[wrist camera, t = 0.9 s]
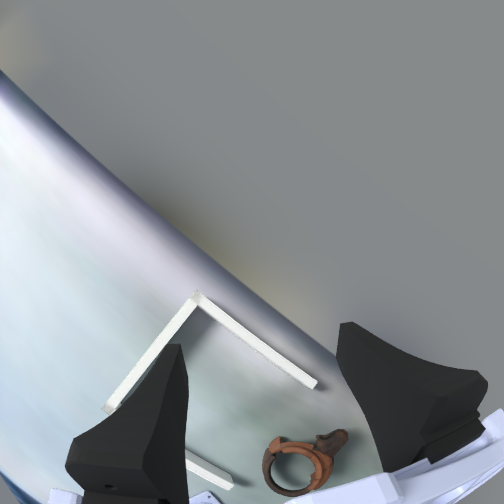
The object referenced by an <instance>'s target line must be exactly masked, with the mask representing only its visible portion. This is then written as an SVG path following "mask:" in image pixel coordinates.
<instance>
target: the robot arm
mask: <svg viewBox="0 0 504 504" xmlns="http://www.w3.org/2000/svg"><path fill="white" fill-rule="evenodd" d="M336 359H337V362H338V365H339V367H340V370H341V372H342V375H343V377H344V378H345V380H346V382H347V384H348V386H349V387H350V389H351V391H352V393H353V395H354V396H355V398H356V400H357V402H358V403H359V405H360V407H361V409H362V411H363V413H364V415H365V417H366V420H367V422H368V425H369V427H370V430H371V432H372V435H373V438H374V441H375V444H376V447H377V450H378V453H379V456H380V460H381V463H382V467H383V471H384V472H383V473H379V474H375V475H371V476H368V477H366V478H363V479H359V480H356V481H353V482H350V483H347V484H343V485H340V486H336V487H332V488H329V489H325V490H321V491H317V492H313V493H309V494H305V495H302V496H299V497H295V498H293V499H291V500H289V501H287V502H285V503H284V504H455V503H456V502H458V501H459V500H461V499H462V498H464V497H465V496H467V495H468V494H470V493H471V492H472V491H474V490H475V489H476V488H478V487H479V486H481V485H482V484H483V483H485V482H486V481H488V480H489V479H490V478H491V477H493V476H494V475H495V474H497V473H498V472H499V471H501V469H502V468H503V467H504V411H503V410H502V409H498V410H497V411H495V412H494V413H492V414H491V415H489V416H488V417H486V418H485V419H484V420H483V421H482V422H480V421H479V419H478V417H479V416H480V413H479V412H478V411H477V408H478V406H479V405H480V403H481V401H482V400H483V398H484V396H485V394H486V392H487V389H488V382H487V381H486V380H485V379H484V377H483V376H482V375H480V373H479V372H478V371H475V370H464V369H457V368H452V367H447V366H442V365H438V364H435V363H431V362H428V361H426V360H423V359H420V358H417V357H415V356H413V355H410V354H408V353H406V352H404V351H402V350H400V349H398V348H396V347H394V346H392V345H390V344H388V343H387V342H385V341H383V340H382V339H380V338H378V337H377V336H375V335H373V334H372V333H370V332H369V331H367V330H366V329H364V328H362V327H361V326H359V325H357V324H356V323H354V322H348V323H341V324H340V330H339V338H338V346H337V353H336ZM188 399H189V387H188V374H187V370H186V366H185V362H184V358H183V354H182V349H181V345H180V344H167V345H166V346H165V347H164V349H163V351H162V352H161V354H160V356H159V357H158V359H157V361H156V362H155V364H154V365H153V367H152V368H151V370H150V371H149V373H148V374H147V376H146V377H145V379H144V380H143V381H142V382H141V384H140V385H139V386H138V388H137V389H136V390H135V391H134V393H133V394H132V395H131V396H130V397H129V398H128V399H127V400H126V401H125V402H124V403H123V404H122V405H121V406H120V407H119V408H118V409H117V410H116V411H115V412H113V413H112V414H111V415H110V416H109V417H107V418H106V419H105V420H103V421H102V422H101V423H99V424H98V425H96V426H95V427H93V428H92V429H90V430H88V431H86V432H85V433H83V434H81V435H79V436H78V437H76V438H74V439H73V442H72V444H71V446H70V450H69V453H68V457H67V460H66V464H65V468H66V471H67V472H68V474H69V475H70V476H71V477H72V478H73V479H74V480H75V481H76V482H77V483H78V484H79V485H80V486H81V487H82V488H83V489H84V490H85V491H84V496H81V495H79V494H76V493H72V492H68V491H64V490H59V489H55V488H52V489H51V493H50V497H49V501H48V504H221V503H220V502H219V501H218V500H217V499H216V498H215V497H214V496H213V495H212V494H211V493H210V492H209V491H205V492H203V493H201V494H199V495H197V496H194V497H192V498H190V499H189V495H188V485H187V473H186V458H185V432H186V421H187V410H188ZM208 496H211V497H208Z"/></svg>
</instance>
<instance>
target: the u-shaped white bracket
mask: <svg viewBox="0 0 504 504" xmlns="http://www.w3.org/2000/svg"><path fill="white" fill-rule="evenodd" d="M196 306H198V307H199V308H200V309H202V310H203V311H204V312H205V313H207V314H208V315H209V316H210V317H212V318H213V319H214V320H215V321H217V322H218V323H219V324H220V325H222V326H223V327H224V328H226V329H227V330H228V331H229V332H231V333H232V334H233V335H235V336H236V337H237V338H239V339H240V340H241V341H243V342H244V343H245V344H247V345H248V346H249V347H251V348H252V349H253V350H255V351H256V352H257V353H259V354H260V355H261V356H263V357H264V358H266V359H267V360H268V361H270V362H271V363H272V364H274V365H275V366H277V367H278V368H279V369H281V370H282V371H284V372H285V373H287V374H288V375H289V376H291V377H292V378H294V379H295V380H297V381H298V382H300V383H301V384H302V385H304V386H306V387H308V388H310V389H313V388H314V386H315V385H316V384H317V382H318V381H316V380H315V379H313V378H312V377H311V376H309V375H308V374H306V373H305V372H304V371H302V370H301V369H299V368H298V367H297V366H295V365H294V364H292V363H291V362H290V361H288V360H287V359H285V358H284V357H283V356H281V355H280V354H279V353H277V352H276V351H275V350H273V349H272V348H270V347H269V346H268V345H266V344H265V343H264V342H262V341H261V340H260V339H258V338H257V337H256V336H255V335H253V334H252V333H251V332H249V331H248V330H247V329H245V328H244V327H243V326H241V325H240V324H239V323H238V322H236V321H235V320H234V319H232V318H231V317H230V316H229V315H227V314H226V313H225V312H224V311H222V310H221V309H220V308H219V307H217V306H216V305H215V304H214V303H212V302H211V301H210V300H209V299H207V298H206V297H205V296H204V295H202V294H201V293H200V292H199V291H197V290H195V292H194V293H193V294H192V295H191V297H190V298H189V299H188V300H187V301H186V303H185V304H184V305H183V306H182V308H181V309H180V310H179V311H178V313H177V314H176V315H175V316H174V318H173V319H172V320H171V321H170V323H169V324H168V325H167V326H166V327H165V329H164V330H163V331H162V332H161V334H160V335H159V336H158V337H157V339H156V340H155V341H154V343H153V344H152V345H151V346H150V348H149V349H148V350H147V351H146V353H145V354H144V355H143V356H142V358H141V359H140V360H139V361H138V363H137V364H136V365H135V367H134V368H133V369H132V370H131V372H130V373H129V374H128V375H127V377H126V378H125V379H124V381H123V382H122V383H121V384H120V386H119V387H118V388H117V390H116V391H115V392H114V393H113V395H112V396H111V397H110V399H109V400H108V401H107V402H106V404H105V405H104V406H103V408H102V410H103V411H105V412H106V413H107V414H108V415H109V416H110V415H111V414H112V413H113V412H115V411H116V410H117V409H118V408H119V407H120V406H121V405H122V404H121V403H120V402H121V400H122V399H123V398H124V397H125V395H126V394H127V393H128V392H129V390H130V389H131V388H132V387H133V385H134V384H135V383H136V381H137V380H138V379H139V378H140V376H141V375H142V374H143V373H144V371H145V370H146V369H147V368H148V366H149V365H150V364H151V363H152V361H153V360H154V359H155V358H156V356H157V355H158V354H159V353H160V351H161V350H162V349H163V347H164V346H165V345H166V344H167V342H168V341H169V340H170V339H171V337H172V336H173V335H174V334H175V332H176V331H177V330H178V329H179V327H180V326H181V325H182V324H183V322H184V321H185V320H186V319H187V317H188V316H189V315H190V314H191V313H192V311H193V310H194V309H195V308H196ZM185 458H186V468H187V469H188V470H190V471H192V472H194V473H195V474H197V475H199V476H201V477H203V478H204V479H206V480H208V481H210V482H212V483H214V484H216V485H218V486H220V487H222V488H224V489H226V490H228V491H229V490H230V489H231V488H232V487H233V486H234V483H233V480H232V478H231V475H230V474H228V473H226V472H225V471H223V470H221V469H219V468H217V467H215V466H214V465H212V464H210V463H208V462H206V461H205V460H203V459H201V458H200V457H198V456H196V455H195V454H193V453H191V452H190V451H188V450H186V449H185Z"/></svg>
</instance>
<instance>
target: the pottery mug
mask: <svg viewBox="0 0 504 504" xmlns="http://www.w3.org/2000/svg"><path fill="white" fill-rule="evenodd" d="M316 438H317V442H316V443H317V448H318V450H319V451H316V450H314V445H312V444H308V443H303V442H284V443H281V440H282V437H281V436H279V437H277V438H276V439H274V440H273V441H272V442H271V443H270V444H269V448H267V449H266V451H265V454H264V457H263V462H262V470H263V474H264V478H265V481H266V483H267V485H268V486H269V487H270V488H271V489H272V490H273V491H274V492H276V493H278V494H281V495H284V496H288V497H298V496H302V495H304V494H307V493H309V492H310V491H311V490H313V489H314V490H316V489H318V488H320V487H321V486H322V485H323V484H324V483H325V482H326V481H327V480H328V478H329V477H330V475H331V473H332V469H333V464H334V459H333V457H334V455H335V454H336V453H337V452H338V451H339V450H340V449H341V448H342V446H343V445H344V444H345V443H346V442H347V441H348V433H347V432H346V431H345V430H344V429H337V430H335V431H333V432H331V433H329V434H327V435H317V436H316ZM281 451H282V452H283V453H284V454H285V453H299V454H302V455H304V456H306V457H308V458H310V460H311V461H312V462H313V464H314V466H315V470H316V472H315V473H313V474H311V480H310V482H311V484H310V485H308V486H307V487H306V488H303V489H300V490H287V489H284V488H282V487H280V486H279V485H277V484H276V483H275V482H274V480H273V479H272V477H271V465H272V463H273V461H274V460H275V459H276V458H277V457H276V454H278V453H279V452H281Z"/></svg>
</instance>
